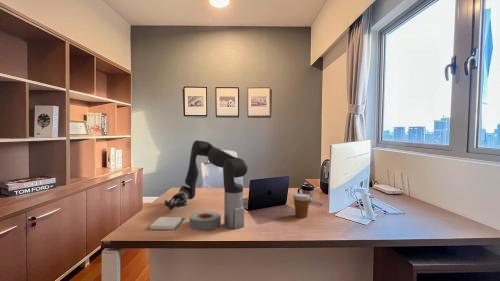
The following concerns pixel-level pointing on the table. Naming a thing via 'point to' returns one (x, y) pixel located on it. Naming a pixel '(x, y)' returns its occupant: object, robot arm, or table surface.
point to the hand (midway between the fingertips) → (170, 207)
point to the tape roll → (205, 221)
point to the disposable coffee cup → (301, 204)
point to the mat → (171, 229)
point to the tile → (165, 223)
